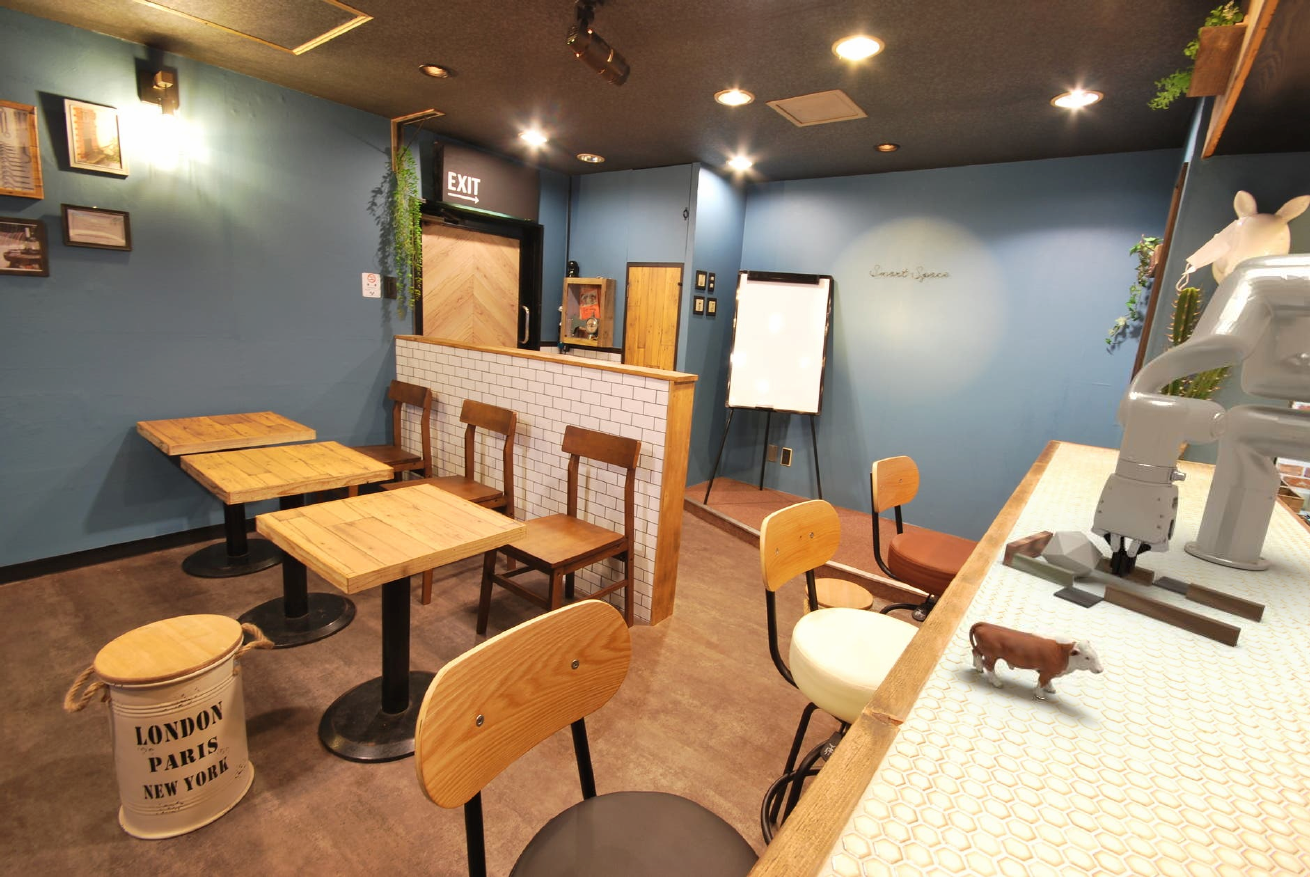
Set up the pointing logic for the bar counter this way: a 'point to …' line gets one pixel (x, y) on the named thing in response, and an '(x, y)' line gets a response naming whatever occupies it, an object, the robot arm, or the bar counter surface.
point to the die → (1072, 552)
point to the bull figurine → (1030, 654)
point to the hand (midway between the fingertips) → (1120, 574)
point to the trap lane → (1030, 547)
